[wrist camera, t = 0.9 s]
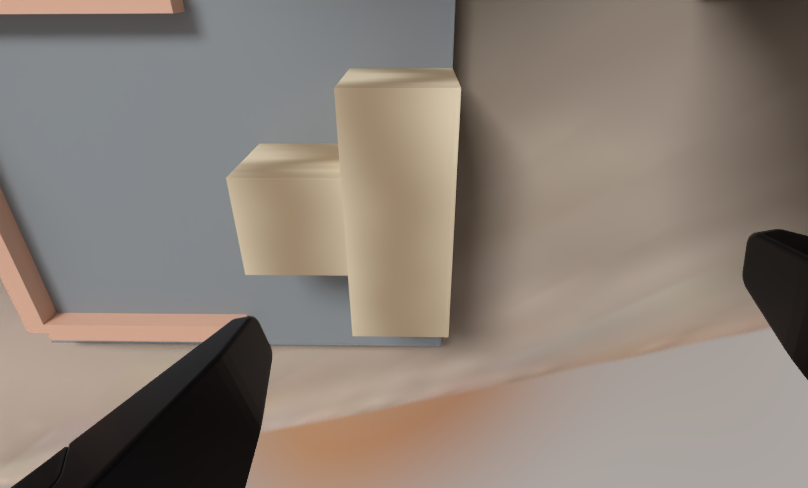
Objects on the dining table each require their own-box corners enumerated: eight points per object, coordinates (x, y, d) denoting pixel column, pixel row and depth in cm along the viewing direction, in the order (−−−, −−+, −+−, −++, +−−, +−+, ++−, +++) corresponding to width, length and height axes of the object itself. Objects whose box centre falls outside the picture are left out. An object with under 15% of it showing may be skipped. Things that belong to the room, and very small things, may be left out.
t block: (452, 68, 18) (461, 88, 15) (443, 283, 23) (448, 337, 20) (247, 68, 18) (208, 88, 15) (281, 282, 23) (257, 335, 20)
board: (455, -53, 17) (460, -57, 15) (440, 334, 26) (441, 359, 24) (-107, -48, 18) (-164, -51, 16) (63, 330, 26) (38, 355, 25)
